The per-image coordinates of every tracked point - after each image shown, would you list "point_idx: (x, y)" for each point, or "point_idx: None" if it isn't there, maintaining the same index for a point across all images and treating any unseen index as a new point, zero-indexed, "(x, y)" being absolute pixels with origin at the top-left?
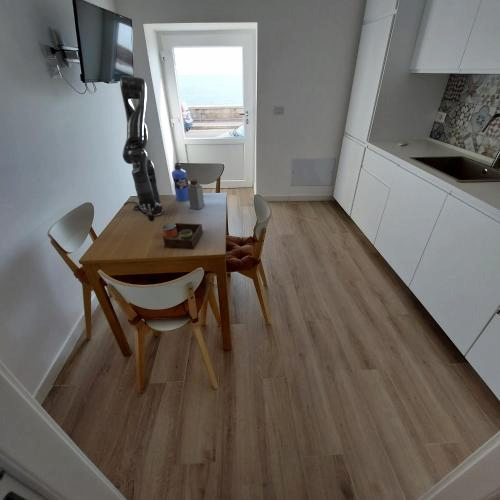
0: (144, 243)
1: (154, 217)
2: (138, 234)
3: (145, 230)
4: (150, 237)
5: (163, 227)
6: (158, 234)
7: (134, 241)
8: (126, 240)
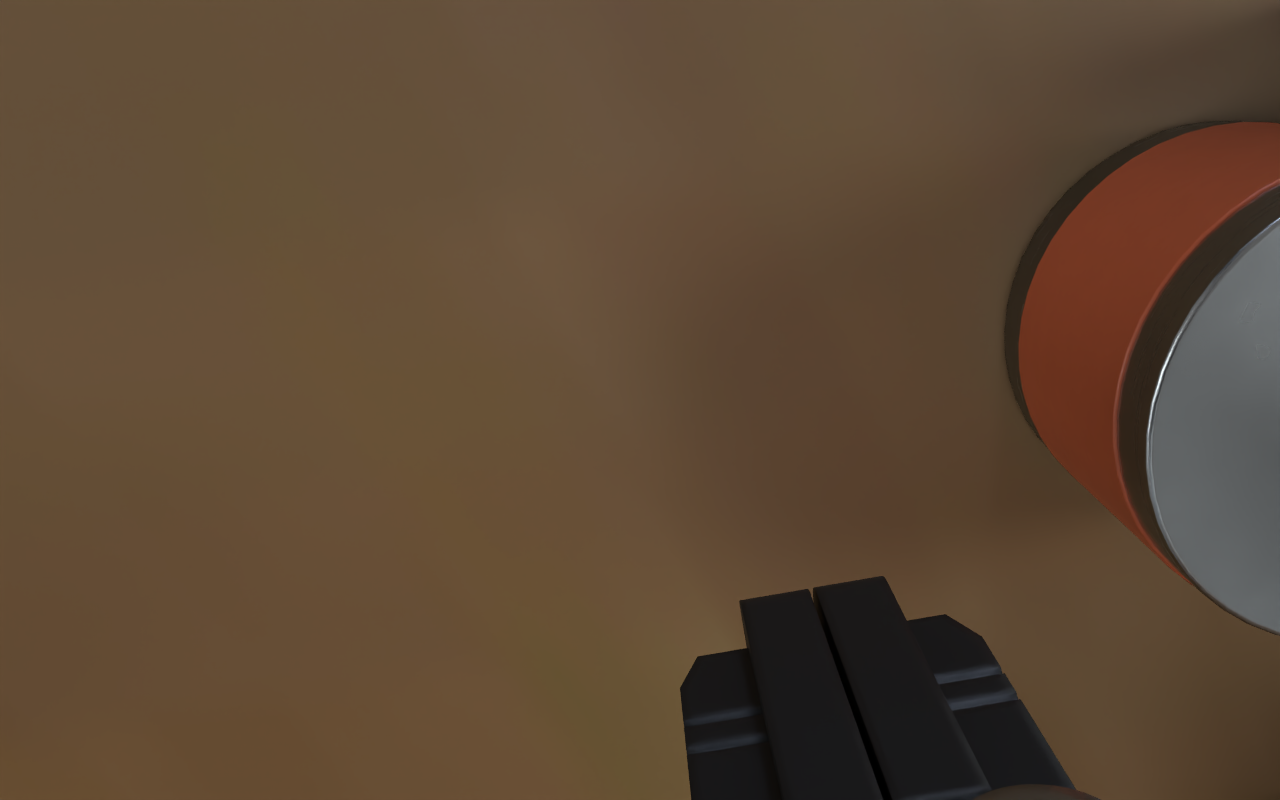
0: (606, 796)
1: (1006, 693)
2: (141, 425)
3: (201, 153)
4: (610, 517)
5: (1192, 523)
6: (771, 323)
7: (281, 762)
8: (28, 757)
